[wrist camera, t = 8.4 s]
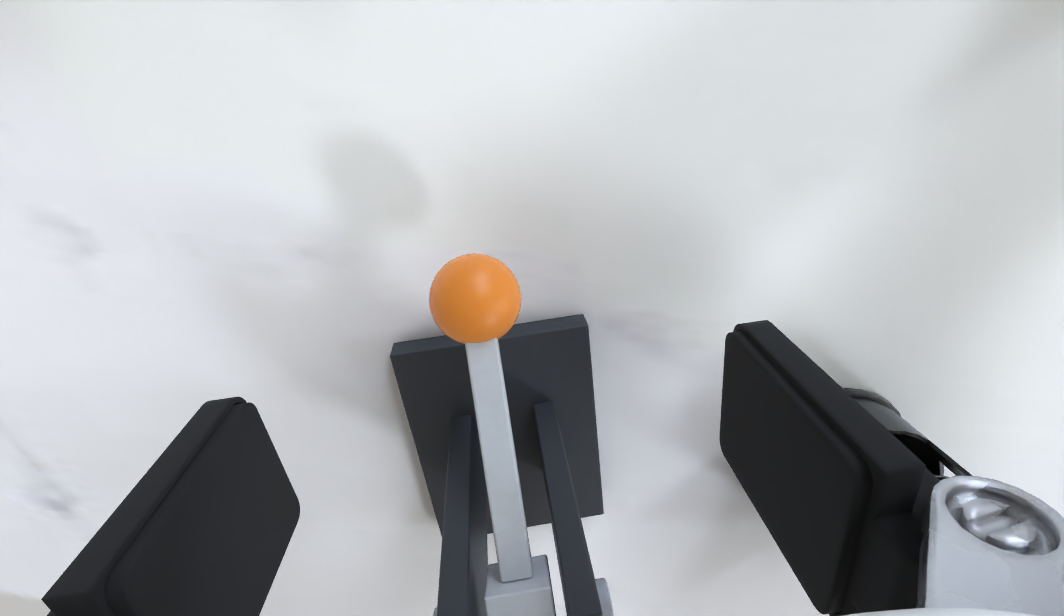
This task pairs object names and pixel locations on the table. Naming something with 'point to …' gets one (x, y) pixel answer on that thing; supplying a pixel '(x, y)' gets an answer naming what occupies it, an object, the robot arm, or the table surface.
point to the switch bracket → (540, 446)
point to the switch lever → (494, 423)
